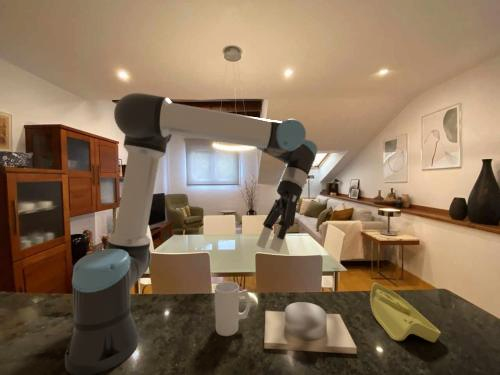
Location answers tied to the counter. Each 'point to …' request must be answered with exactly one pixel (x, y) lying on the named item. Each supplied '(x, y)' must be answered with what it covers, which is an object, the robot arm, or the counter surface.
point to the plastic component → (399, 316)
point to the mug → (229, 307)
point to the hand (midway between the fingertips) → (266, 248)
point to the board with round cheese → (307, 330)
